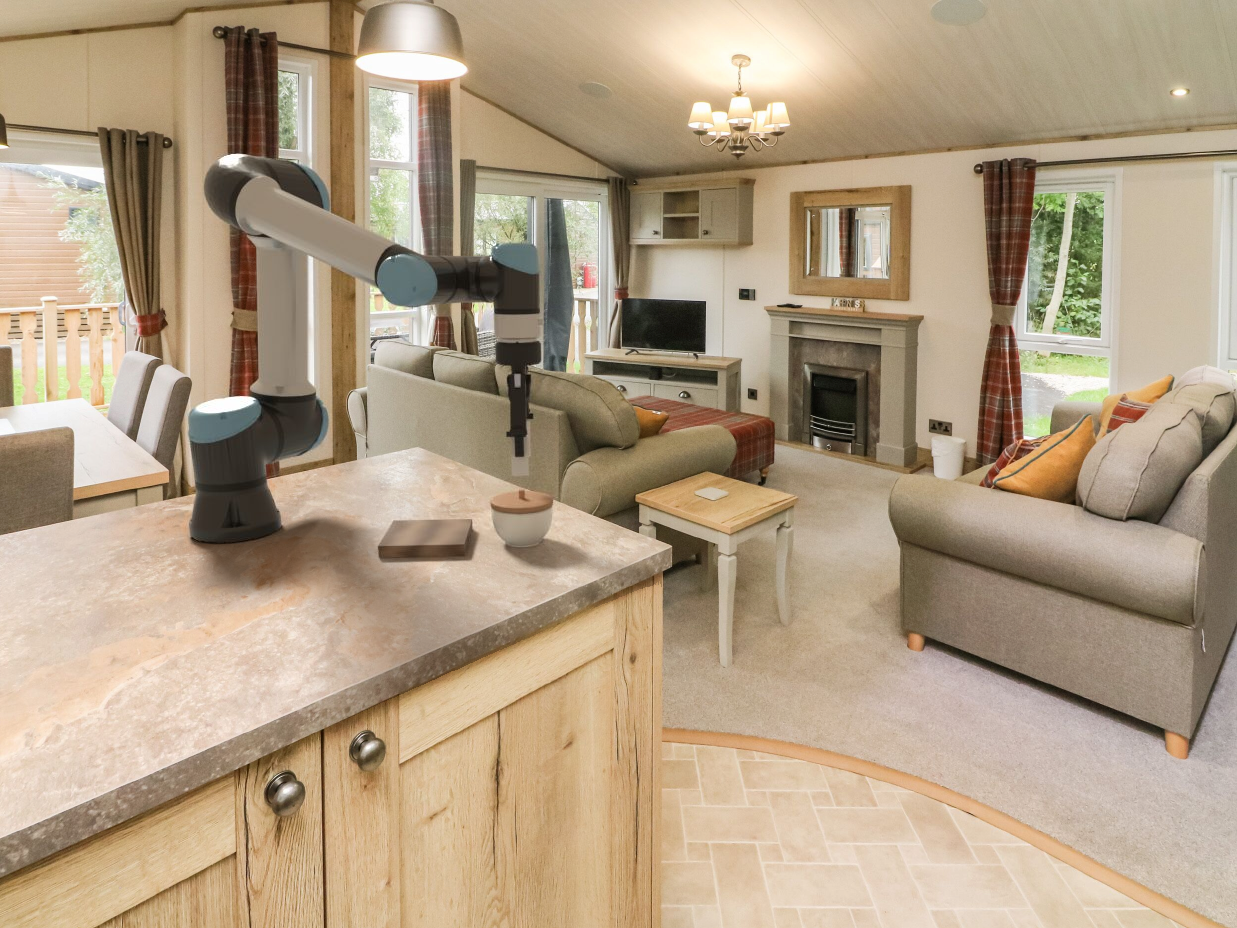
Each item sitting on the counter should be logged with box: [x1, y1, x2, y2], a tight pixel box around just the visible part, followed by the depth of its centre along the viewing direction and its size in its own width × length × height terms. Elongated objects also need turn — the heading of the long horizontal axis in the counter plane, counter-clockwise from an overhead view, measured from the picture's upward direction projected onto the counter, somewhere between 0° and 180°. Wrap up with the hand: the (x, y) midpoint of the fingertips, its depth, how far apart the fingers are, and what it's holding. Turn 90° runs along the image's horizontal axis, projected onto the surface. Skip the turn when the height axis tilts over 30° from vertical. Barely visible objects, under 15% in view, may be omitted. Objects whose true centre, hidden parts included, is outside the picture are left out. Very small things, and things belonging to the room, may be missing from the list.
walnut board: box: [377, 518, 474, 559], centre depth 144 cm, size 14×14×2 cm
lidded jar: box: [489, 488, 554, 549], centre depth 144 cm, size 11×11×9 cm
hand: (521, 465), depth 142 cm, fingers open, 13 cm apart
